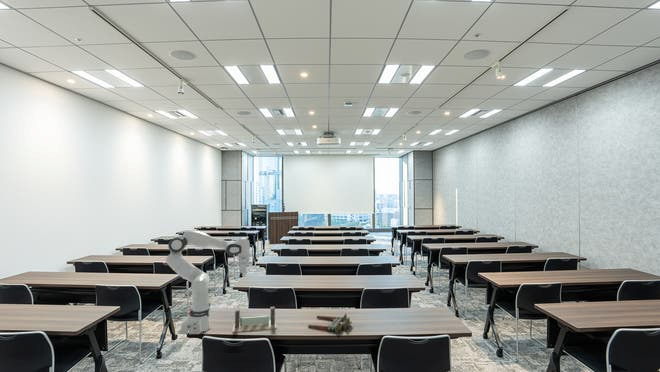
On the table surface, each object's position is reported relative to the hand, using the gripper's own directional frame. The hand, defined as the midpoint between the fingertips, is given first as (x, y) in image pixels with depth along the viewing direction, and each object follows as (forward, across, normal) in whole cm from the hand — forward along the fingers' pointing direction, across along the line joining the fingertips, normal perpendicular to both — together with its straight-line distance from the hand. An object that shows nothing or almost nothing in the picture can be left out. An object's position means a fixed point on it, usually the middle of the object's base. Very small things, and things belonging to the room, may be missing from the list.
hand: (243, 275), depth 247 cm
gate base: (+34, +15, +9) cm, 38 cm away
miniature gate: (+35, +25, +65) cm, 78 cm away
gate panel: (+33, +15, +9) cm, 37 cm away
